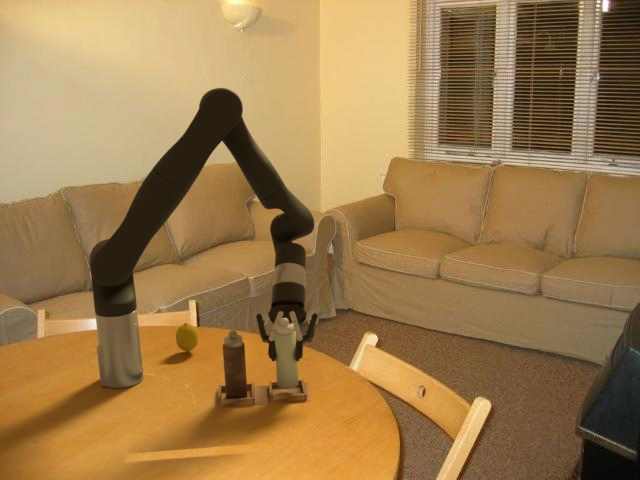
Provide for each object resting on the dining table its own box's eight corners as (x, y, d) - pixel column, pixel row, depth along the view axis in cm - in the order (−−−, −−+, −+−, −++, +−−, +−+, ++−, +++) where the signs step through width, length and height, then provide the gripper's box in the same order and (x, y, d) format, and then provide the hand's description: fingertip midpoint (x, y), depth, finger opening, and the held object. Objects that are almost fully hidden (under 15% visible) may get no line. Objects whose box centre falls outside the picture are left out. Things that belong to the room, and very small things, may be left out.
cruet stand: (215, 413, 152) (214, 402, 152) (216, 394, 161) (216, 384, 161) (310, 405, 154) (309, 395, 154) (306, 387, 163) (306, 377, 162)
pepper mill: (225, 402, 154) (221, 335, 151) (226, 392, 159) (221, 327, 155) (247, 400, 155) (243, 333, 151) (247, 391, 159) (243, 325, 156)
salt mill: (277, 389, 155) (273, 322, 151) (276, 380, 160) (273, 315, 156) (299, 388, 156) (295, 321, 152) (297, 378, 160) (294, 313, 156)
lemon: (201, 348, 187) (199, 319, 185) (196, 357, 182) (193, 326, 180) (180, 348, 187) (178, 318, 185) (174, 356, 182) (171, 326, 180)
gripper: (254, 280, 160) (249, 353, 151) (319, 279, 159) (317, 353, 150) (259, 295, 166) (254, 366, 158) (322, 294, 165) (320, 366, 157)
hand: (285, 359), depth 154 cm, fingers closed on salt mill, 4 cm apart
